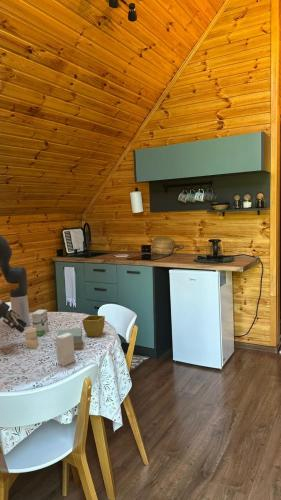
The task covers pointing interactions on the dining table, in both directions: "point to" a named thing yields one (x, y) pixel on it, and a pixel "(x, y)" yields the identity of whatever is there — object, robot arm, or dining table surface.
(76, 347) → the tower base slab
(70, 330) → the tower top slab
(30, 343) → the maple block
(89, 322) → the flower pot
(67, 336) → the skincare box
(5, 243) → the robot arm
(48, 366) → the dining table surface
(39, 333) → the ink box
